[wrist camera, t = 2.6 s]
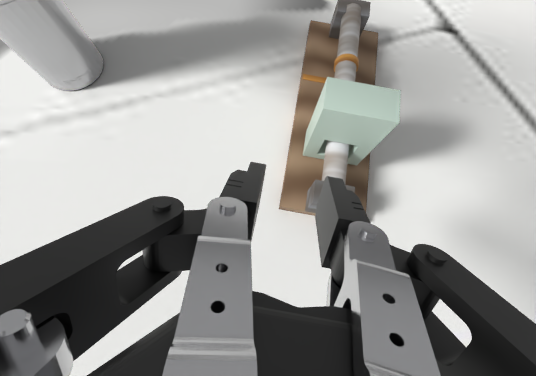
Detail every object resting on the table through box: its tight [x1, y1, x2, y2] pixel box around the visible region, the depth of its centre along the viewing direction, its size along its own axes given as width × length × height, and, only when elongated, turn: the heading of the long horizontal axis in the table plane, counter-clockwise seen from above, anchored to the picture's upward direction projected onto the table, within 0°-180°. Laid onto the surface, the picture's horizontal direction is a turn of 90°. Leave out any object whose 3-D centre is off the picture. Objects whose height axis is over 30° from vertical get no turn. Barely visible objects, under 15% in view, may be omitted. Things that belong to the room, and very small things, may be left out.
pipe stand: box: [279, 0, 378, 216], centre depth 40 cm, size 34×12×7 cm, turn 170°
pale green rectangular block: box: [303, 77, 401, 165], centre depth 34 cm, size 4×8×12 cm, turn 80°
